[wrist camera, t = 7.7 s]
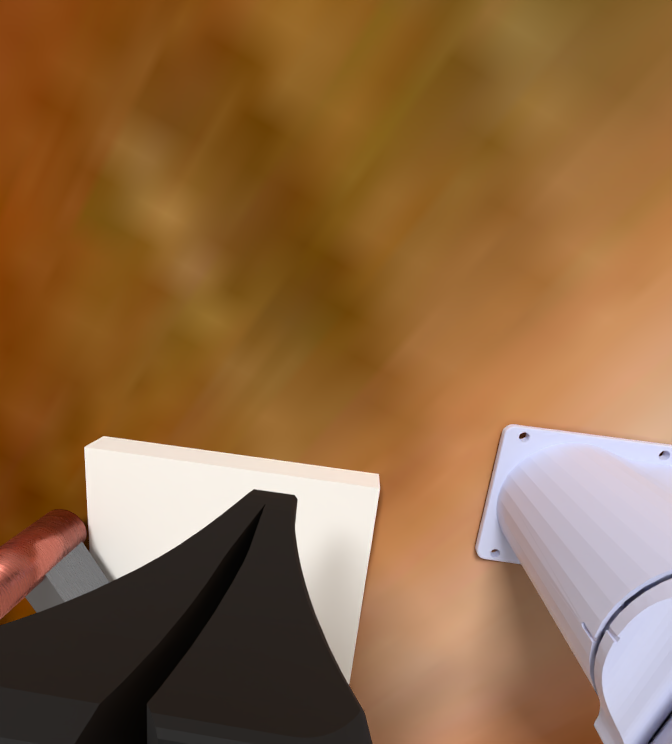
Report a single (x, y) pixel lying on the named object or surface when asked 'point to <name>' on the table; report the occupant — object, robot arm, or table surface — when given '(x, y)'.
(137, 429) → the table surface
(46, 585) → the lever
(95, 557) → the white flat block
